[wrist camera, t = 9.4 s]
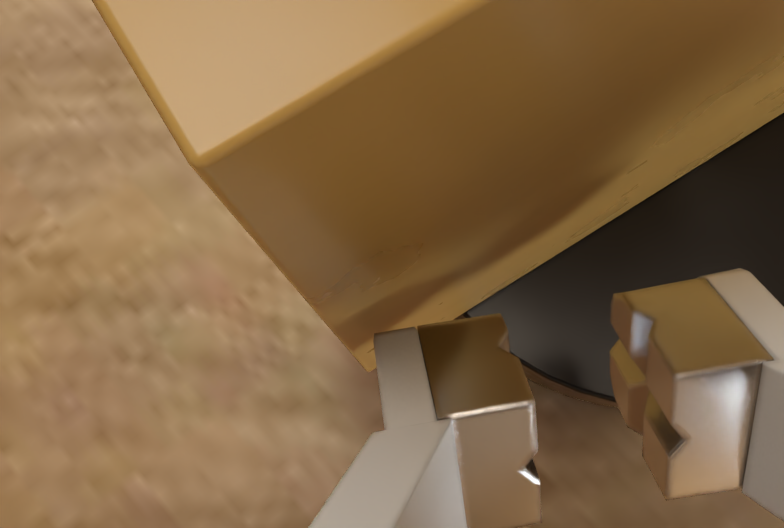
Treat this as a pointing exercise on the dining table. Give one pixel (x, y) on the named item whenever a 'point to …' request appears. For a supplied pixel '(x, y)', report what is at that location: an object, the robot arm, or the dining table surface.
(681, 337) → the robot arm
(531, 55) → the picture frame
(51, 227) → the dining table surface
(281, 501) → the dining table surface
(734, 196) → the frame stand
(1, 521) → the dining table surface
